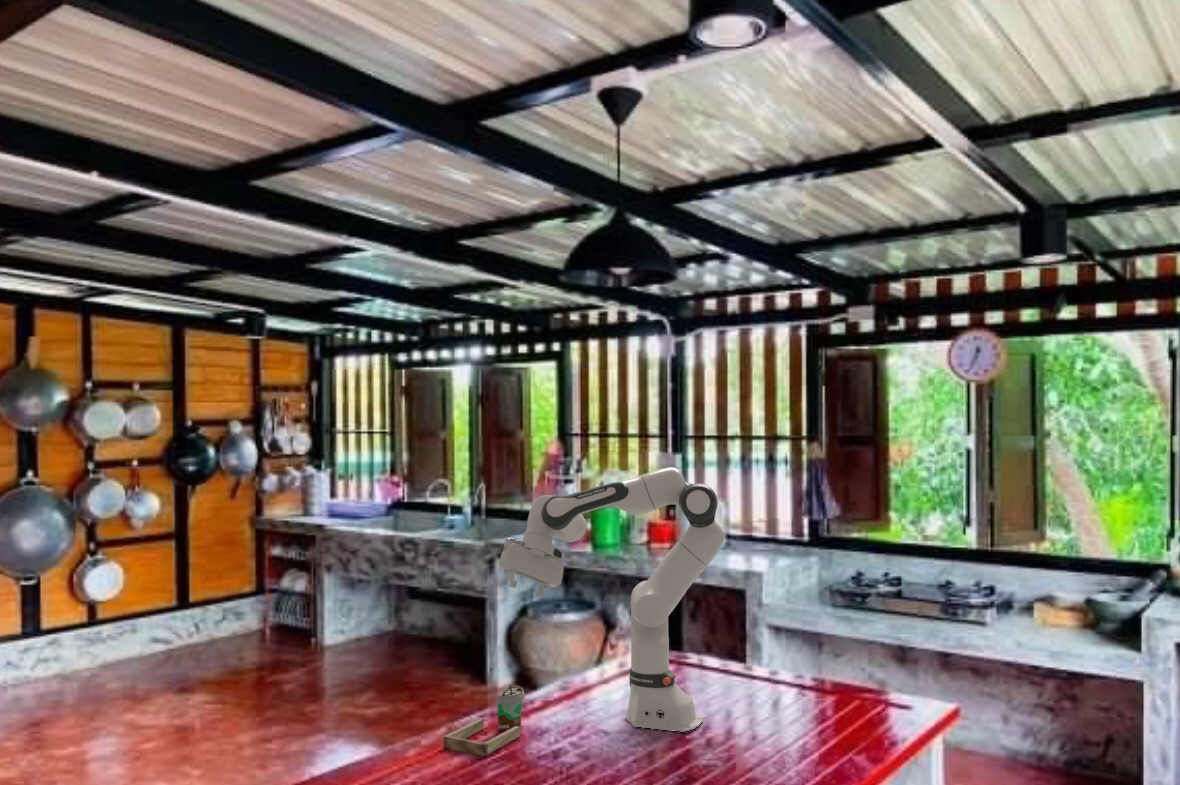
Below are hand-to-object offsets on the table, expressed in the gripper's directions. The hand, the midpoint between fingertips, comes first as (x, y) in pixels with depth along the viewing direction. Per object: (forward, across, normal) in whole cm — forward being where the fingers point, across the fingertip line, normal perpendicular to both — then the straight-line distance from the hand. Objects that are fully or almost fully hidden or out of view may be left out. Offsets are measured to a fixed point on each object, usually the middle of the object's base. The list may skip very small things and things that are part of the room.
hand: (525, 592), depth 265 cm
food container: (+36, +10, +8) cm, 38 cm away
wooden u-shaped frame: (+42, -1, +2) cm, 42 cm away
